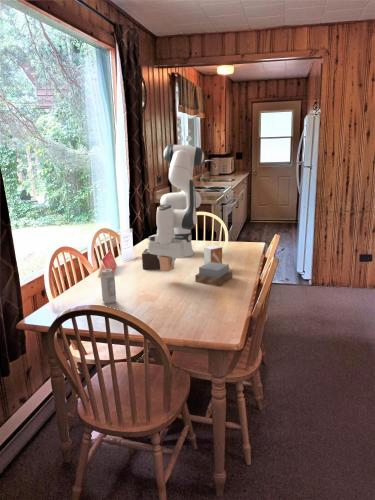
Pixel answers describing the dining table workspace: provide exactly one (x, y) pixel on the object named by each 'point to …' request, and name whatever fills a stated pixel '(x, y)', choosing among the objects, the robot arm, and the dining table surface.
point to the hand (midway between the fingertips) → (167, 264)
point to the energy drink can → (108, 286)
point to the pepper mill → (150, 260)
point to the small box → (213, 254)
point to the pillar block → (166, 263)
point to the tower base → (214, 279)
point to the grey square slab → (213, 270)
